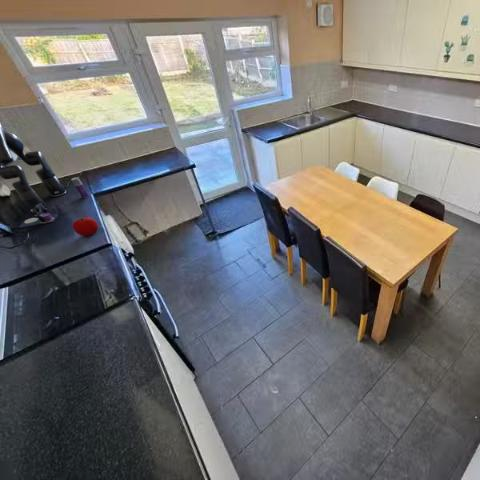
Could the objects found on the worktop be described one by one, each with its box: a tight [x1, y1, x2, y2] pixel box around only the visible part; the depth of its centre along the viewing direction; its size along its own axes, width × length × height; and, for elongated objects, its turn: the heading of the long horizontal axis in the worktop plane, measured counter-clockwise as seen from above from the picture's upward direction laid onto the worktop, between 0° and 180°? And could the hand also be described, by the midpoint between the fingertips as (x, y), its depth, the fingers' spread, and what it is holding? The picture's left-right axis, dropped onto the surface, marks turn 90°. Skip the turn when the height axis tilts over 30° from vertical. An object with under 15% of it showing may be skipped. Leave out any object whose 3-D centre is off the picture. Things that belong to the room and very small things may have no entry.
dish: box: [41, 212, 53, 224], centre depth 180 cm, size 6×6×4 cm
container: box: [70, 176, 90, 199], centre depth 203 cm, size 5×5×15 cm
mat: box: [17, 213, 60, 229], centre depth 181 cm, size 11×19×1 cm, turn 112°
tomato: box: [72, 216, 99, 237], centre depth 165 cm, size 12×12×11 cm
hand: (46, 218), depth 180 cm, fingers open, 7 cm apart
